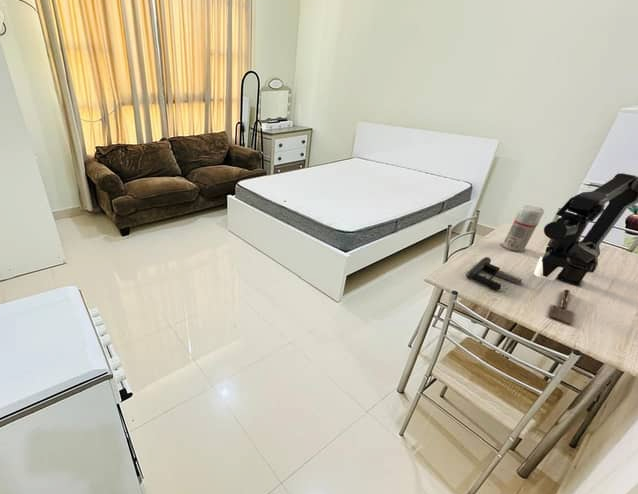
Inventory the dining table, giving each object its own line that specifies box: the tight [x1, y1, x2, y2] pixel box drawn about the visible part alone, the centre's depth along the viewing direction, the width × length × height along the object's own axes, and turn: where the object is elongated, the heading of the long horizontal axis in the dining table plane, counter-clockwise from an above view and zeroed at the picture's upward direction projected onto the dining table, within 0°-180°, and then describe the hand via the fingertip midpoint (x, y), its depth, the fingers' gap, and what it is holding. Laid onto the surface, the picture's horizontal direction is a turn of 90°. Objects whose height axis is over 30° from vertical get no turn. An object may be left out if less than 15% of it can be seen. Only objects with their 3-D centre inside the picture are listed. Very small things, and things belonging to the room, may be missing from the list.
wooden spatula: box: [549, 289, 574, 326], centre depth 110 cm, size 5×22×2 cm, turn 134°
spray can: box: [502, 204, 545, 252], centre depth 141 cm, size 8×8×20 cm
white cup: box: [533, 254, 563, 281], centre depth 112 cm, size 7×7×7 cm
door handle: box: [464, 256, 523, 291], centre depth 124 cm, size 3×20×16 cm
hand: (546, 272), depth 113 cm, fingers closed on white cup, 6 cm apart
